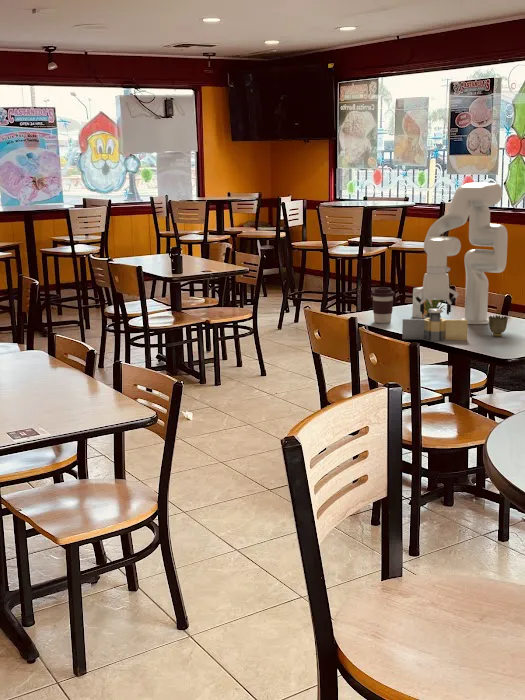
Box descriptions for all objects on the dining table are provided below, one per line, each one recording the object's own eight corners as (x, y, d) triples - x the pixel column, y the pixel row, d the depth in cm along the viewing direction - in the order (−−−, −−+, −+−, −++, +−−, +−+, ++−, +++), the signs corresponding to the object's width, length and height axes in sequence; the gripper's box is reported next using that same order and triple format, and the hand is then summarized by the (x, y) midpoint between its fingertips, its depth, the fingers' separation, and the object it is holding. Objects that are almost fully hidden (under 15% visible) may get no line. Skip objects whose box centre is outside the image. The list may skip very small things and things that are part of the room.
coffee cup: (369, 323, 377) (369, 289, 373) (373, 319, 386) (373, 286, 383) (392, 324, 374) (392, 290, 371) (395, 320, 383) (396, 286, 380)
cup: (507, 338, 343) (508, 318, 341) (488, 338, 344) (489, 318, 342) (506, 334, 350) (507, 315, 348) (487, 334, 351) (488, 315, 350)
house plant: (457, 329, 362) (459, 290, 358) (445, 335, 351) (446, 295, 347) (425, 326, 370) (426, 288, 366) (412, 331, 358) (413, 292, 355)
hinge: (402, 336, 349) (402, 317, 347) (466, 338, 345) (467, 318, 343) (402, 341, 341) (402, 321, 339) (467, 342, 337) (468, 322, 336)
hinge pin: (427, 338, 346) (428, 308, 343) (440, 338, 345) (441, 308, 343) (427, 340, 341) (428, 310, 338) (441, 341, 340) (442, 310, 338)
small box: (422, 318, 387) (423, 289, 384) (411, 316, 392) (412, 288, 389) (434, 316, 392) (435, 287, 389) (424, 314, 397) (425, 286, 394)
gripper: (458, 269, 339) (457, 312, 343) (413, 269, 342) (412, 311, 346) (460, 272, 332) (458, 316, 336) (414, 271, 335) (413, 315, 338)
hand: (435, 313), depth 341 cm, fingers open, 9 cm apart
